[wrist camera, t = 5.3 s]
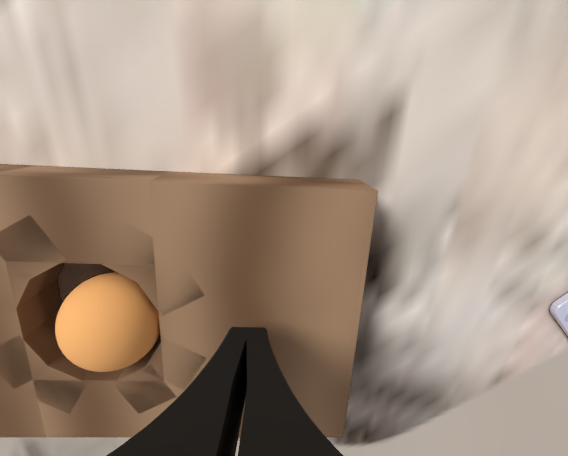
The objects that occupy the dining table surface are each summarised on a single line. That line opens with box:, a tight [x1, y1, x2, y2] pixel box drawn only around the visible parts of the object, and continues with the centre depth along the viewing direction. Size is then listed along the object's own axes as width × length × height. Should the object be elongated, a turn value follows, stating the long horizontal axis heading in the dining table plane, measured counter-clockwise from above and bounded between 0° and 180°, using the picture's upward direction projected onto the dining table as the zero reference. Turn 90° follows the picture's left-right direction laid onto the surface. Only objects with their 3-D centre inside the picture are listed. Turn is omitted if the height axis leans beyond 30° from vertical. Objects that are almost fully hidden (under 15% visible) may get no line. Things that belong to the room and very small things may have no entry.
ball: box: [55, 272, 160, 372], centre depth 13 cm, size 4×4×4 cm
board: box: [0, 164, 378, 437], centre depth 14 cm, size 16×12×2 cm
